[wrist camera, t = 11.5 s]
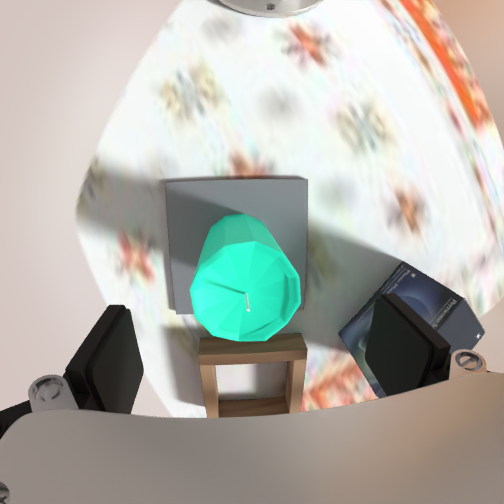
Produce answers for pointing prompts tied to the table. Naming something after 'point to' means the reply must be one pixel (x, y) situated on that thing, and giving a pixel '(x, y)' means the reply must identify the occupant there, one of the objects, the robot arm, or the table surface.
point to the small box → (426, 305)
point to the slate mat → (231, 203)
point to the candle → (243, 281)
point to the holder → (250, 353)
